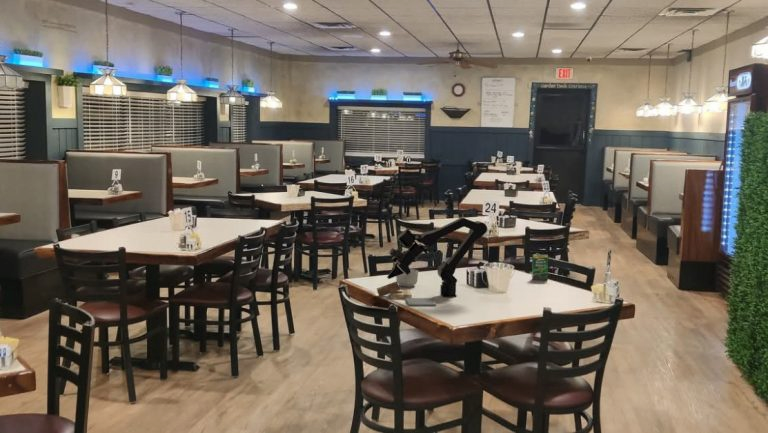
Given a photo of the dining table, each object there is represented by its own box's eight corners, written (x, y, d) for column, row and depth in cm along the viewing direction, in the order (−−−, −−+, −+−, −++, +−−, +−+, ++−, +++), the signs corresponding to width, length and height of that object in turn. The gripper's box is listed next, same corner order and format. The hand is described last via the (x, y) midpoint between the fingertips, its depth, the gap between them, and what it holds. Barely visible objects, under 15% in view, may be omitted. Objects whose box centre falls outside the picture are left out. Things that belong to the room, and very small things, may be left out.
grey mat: (432, 299, 338) (432, 298, 338) (435, 306, 326) (435, 304, 326) (405, 299, 337) (405, 298, 337) (408, 306, 325) (408, 304, 325)
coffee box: (532, 279, 387) (533, 255, 386) (531, 278, 390) (532, 254, 389) (547, 280, 387) (548, 255, 385) (546, 279, 390) (547, 254, 388)
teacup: (402, 282, 375) (403, 266, 374) (422, 285, 369) (422, 269, 368) (388, 287, 363) (389, 271, 362) (408, 290, 357) (408, 273, 356)
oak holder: (409, 294, 349) (409, 289, 349) (411, 298, 339) (411, 294, 339) (390, 293, 349) (390, 289, 348) (391, 298, 339) (391, 294, 338)
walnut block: (396, 281, 345) (376, 288, 344) (397, 282, 341) (376, 290, 341) (399, 288, 345) (378, 295, 345) (400, 289, 342) (379, 297, 341)
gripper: (396, 238, 350) (372, 262, 350) (403, 245, 332) (378, 269, 331) (412, 255, 352) (389, 278, 352) (420, 262, 334) (396, 287, 334)
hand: (387, 278), depth 342 cm, fingers closed
